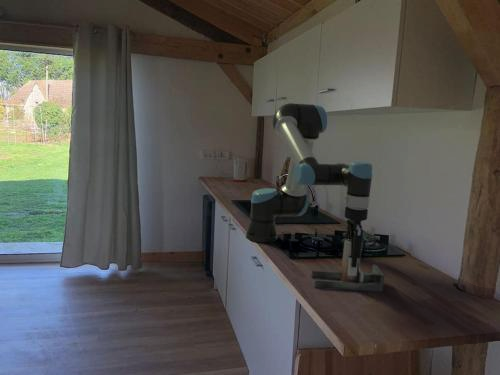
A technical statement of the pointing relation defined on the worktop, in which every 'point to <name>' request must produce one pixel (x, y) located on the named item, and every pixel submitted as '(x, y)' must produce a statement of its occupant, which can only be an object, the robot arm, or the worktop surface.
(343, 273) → the beverage can
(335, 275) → the lane
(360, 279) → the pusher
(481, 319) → the worktop surface
